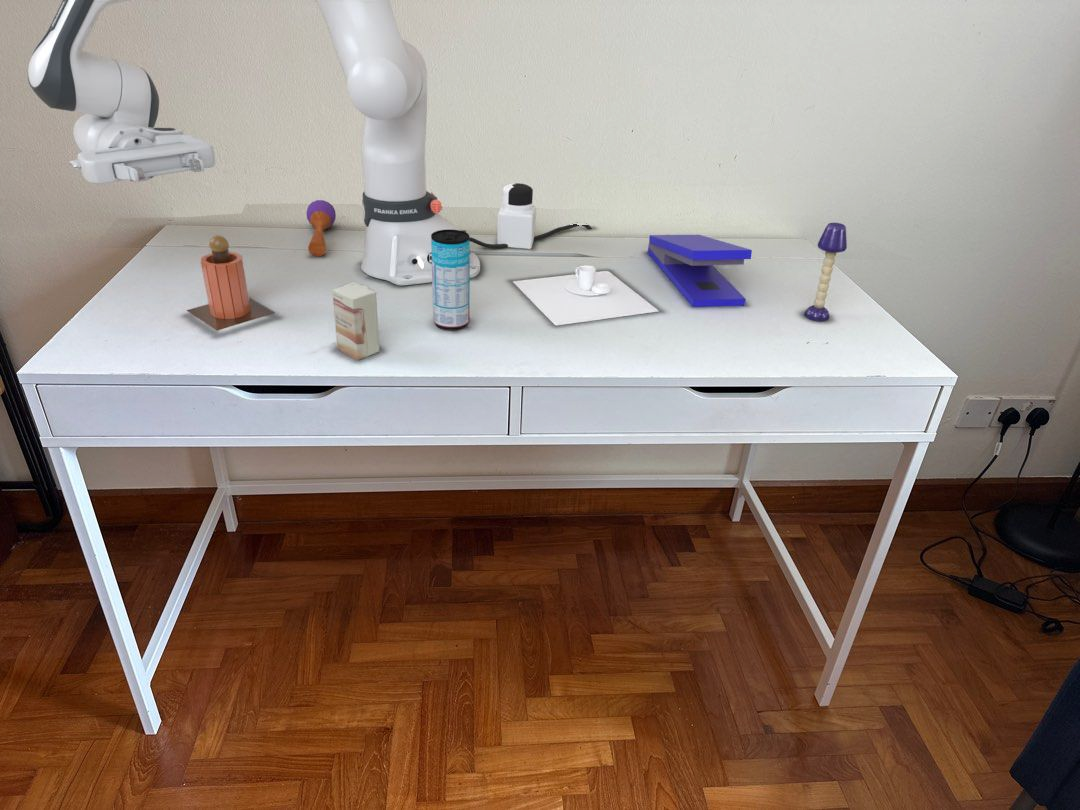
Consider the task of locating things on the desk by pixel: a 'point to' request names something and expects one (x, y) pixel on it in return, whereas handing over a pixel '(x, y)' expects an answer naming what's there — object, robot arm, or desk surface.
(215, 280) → the orange slatted tube
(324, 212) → the kendama
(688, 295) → the stapler
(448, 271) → the beverage can
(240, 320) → the holder
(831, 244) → the toy lamp
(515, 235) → the medicine bottle
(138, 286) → the desk surface
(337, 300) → the white product box
